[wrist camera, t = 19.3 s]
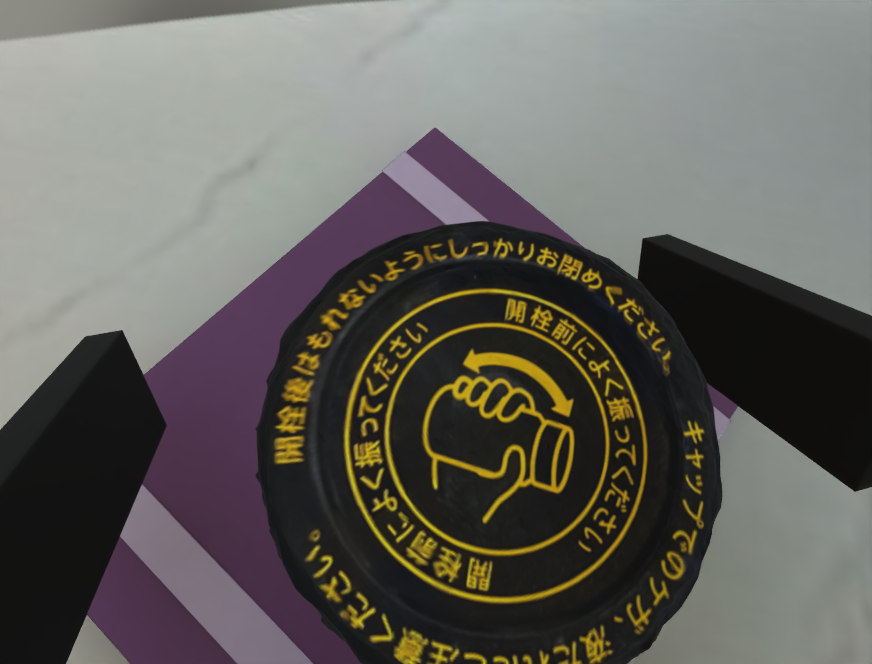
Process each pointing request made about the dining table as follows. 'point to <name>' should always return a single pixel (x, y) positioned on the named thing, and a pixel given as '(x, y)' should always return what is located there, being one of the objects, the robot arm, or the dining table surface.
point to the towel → (237, 438)
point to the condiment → (488, 453)
